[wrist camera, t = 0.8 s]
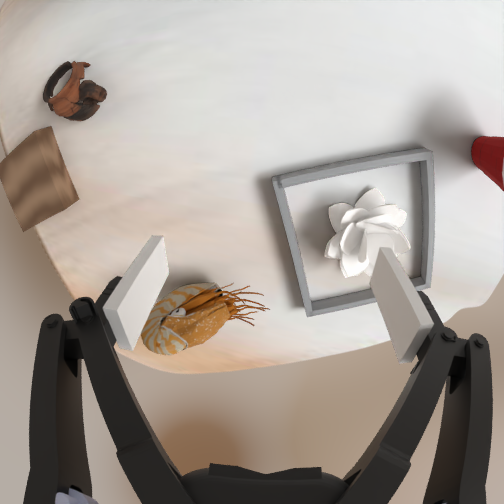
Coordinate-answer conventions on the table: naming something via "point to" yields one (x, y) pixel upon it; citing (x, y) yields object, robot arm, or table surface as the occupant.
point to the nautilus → (190, 317)
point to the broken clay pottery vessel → (74, 93)
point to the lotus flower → (365, 232)
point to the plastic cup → (490, 157)
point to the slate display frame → (351, 167)
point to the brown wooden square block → (37, 179)
